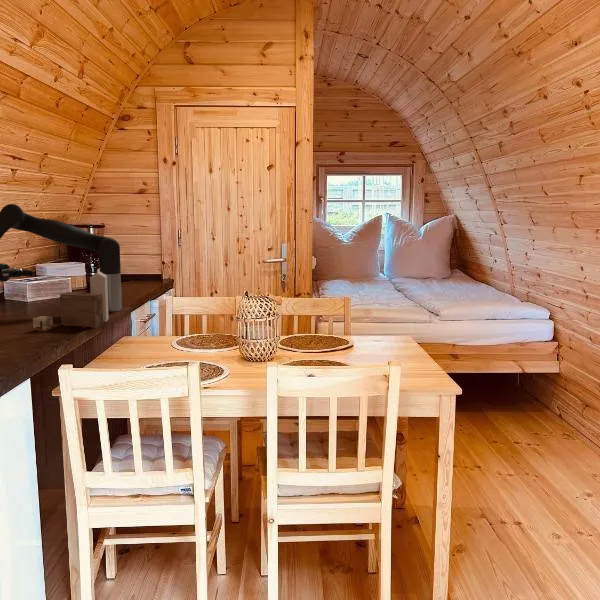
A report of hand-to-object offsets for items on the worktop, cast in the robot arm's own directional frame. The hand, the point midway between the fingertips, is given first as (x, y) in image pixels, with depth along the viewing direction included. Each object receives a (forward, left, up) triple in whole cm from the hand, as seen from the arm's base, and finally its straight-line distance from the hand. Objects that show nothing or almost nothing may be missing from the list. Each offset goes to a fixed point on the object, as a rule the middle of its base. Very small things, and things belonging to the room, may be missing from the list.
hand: (33, 273), depth 241 cm
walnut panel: (0, +21, -20) cm, 29 cm away
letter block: (+12, +12, -20) cm, 26 cm away
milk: (-11, +23, -21) cm, 33 cm away
